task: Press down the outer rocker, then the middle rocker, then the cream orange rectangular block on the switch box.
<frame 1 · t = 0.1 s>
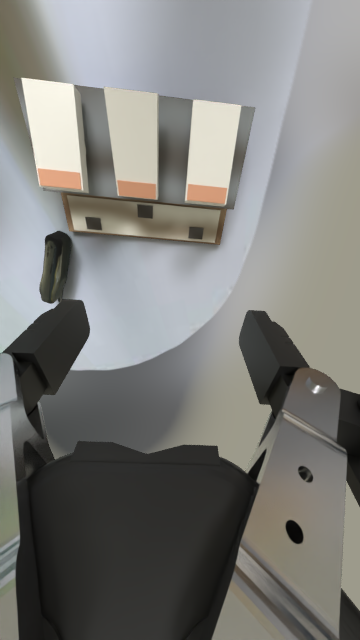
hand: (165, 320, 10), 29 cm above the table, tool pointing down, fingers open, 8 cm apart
mobile phone: (62, 268, 39), on the table
rocker 2: (136, 150, 23), point 7 cm above the table, hinge at 12.0°
rocker 1: (60, 143, 22), point 7 cm above the table, hinge at -12.0°
switch box: (146, 181, 31), on the table
cream orange rectangular block 3: (209, 160, 23), point 7 cm above the table, hinge at -12.0°
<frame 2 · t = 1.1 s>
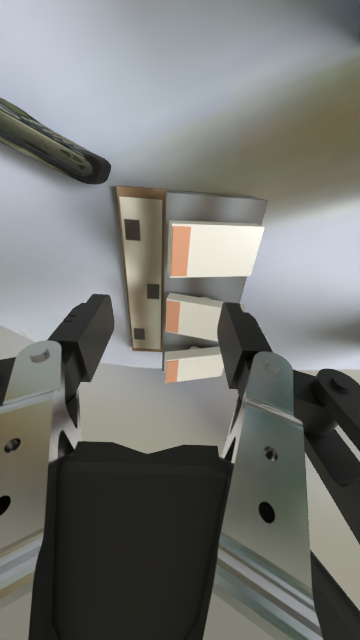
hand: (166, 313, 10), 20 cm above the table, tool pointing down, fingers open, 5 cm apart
mobile phone: (42, 138, 21), on the table
rocker 2: (202, 317, 25), point 7 cm above the table, hinge at 12.0°
rocker 1: (212, 249, 20), point 7 cm above the table, hinge at -12.0°
switch box: (178, 289, 31), on the table
cream orange rectangular block 3: (194, 363, 30), point 7 cm above the table, hinge at -12.0°
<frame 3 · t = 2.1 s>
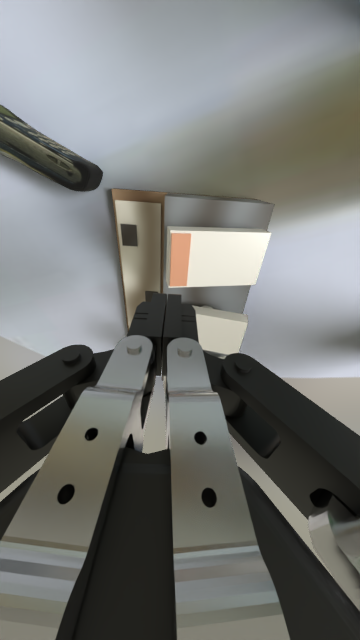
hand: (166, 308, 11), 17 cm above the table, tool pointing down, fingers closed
mobile phone: (30, 139, 20), on the table
rocker 2: (203, 327, 24), point 7 cm above the table, hinge at 12.0°
rocker 1: (214, 257, 19), point 7 cm above the table, hinge at -12.0°
switch box: (178, 296, 30), on the table
cream orange rectangular block 3: (194, 373, 29), point 7 cm above the table, hinge at -12.0°
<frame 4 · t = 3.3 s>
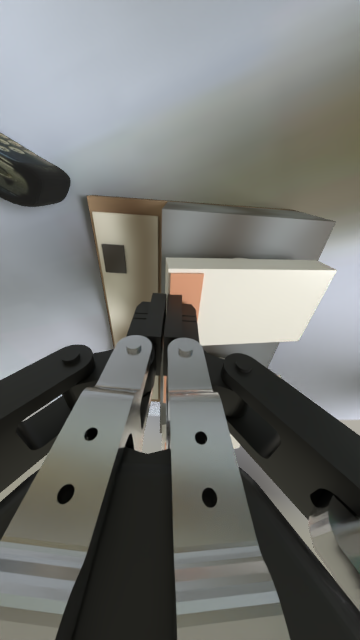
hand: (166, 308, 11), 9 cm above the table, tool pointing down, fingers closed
rocker 2: (216, 386, 17), point 7 cm above the table, hinge at 12.0°
rocker 1: (238, 301, 12), point 7 cm above the table, hinge at -8.8°, touching gripper
switch box: (182, 330, 23), on the table
cream orange rectangular block 3: (202, 434, 22), point 7 cm above the table, hinge at -12.0°
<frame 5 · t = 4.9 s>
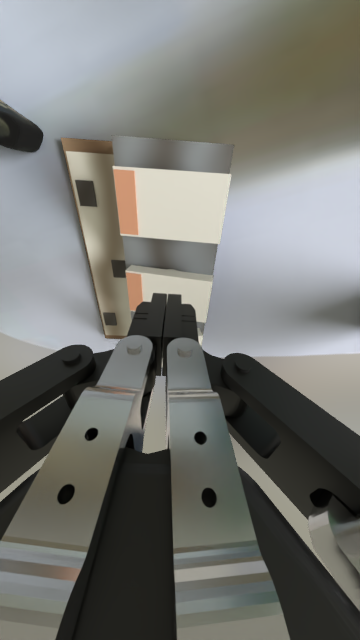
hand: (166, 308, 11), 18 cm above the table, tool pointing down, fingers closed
rocker 2: (169, 292, 22), point 7 cm above the table, hinge at 12.0°
rocker 1: (172, 206, 17), point 7 cm above the table, hinge at 7.0°
switch box: (149, 266, 28), on the table
cream orange rectangular block 3: (167, 347, 27), point 7 cm above the table, hinge at -12.0°
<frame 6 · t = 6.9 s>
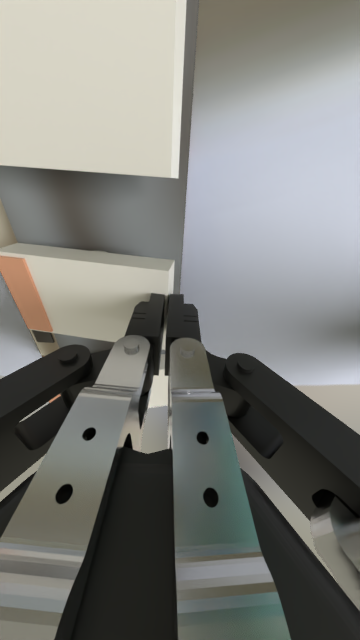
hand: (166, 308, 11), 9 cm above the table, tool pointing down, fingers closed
rocker 2: (97, 295, 12), point 7 cm above the table, hinge at 8.3°, touching gripper
rocker 1: (54, 81, 7), point 7 cm above the table, hinge at 9.1°
switch box: (91, 254, 18), on the table
cream orange rectangular block 3: (114, 384, 17), point 7 cm above the table, hinge at -12.0°
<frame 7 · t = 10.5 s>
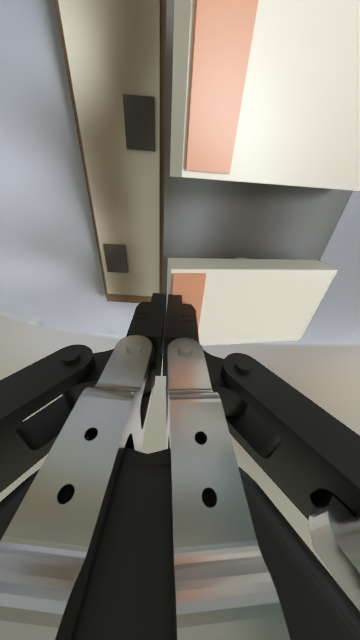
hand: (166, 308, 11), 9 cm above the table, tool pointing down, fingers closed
rocker 2: (293, 102, 7), point 7 cm above the table, hinge at -18.1°
switch box: (201, 133, 13), on the table
cream orange rectangular block 3: (239, 301, 12), point 7 cm above the table, hinge at -9.5°, touching gripper
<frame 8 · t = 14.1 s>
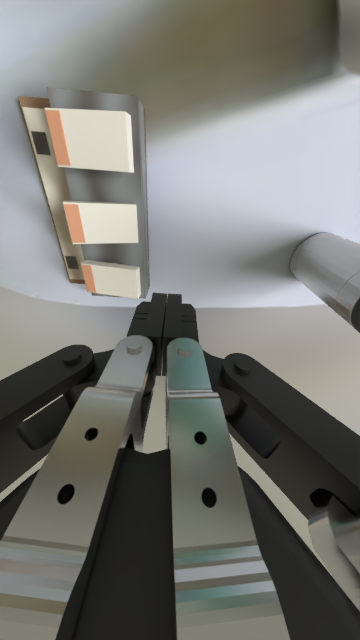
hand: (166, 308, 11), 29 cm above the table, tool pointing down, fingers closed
rocker 2: (104, 222, 28), point 7 cm above the table, hinge at -18.3°
rocker 1: (94, 143, 23), point 7 cm above the table, hinge at 9.2°
switch box: (100, 213, 34), on the table
cream orange rectangular block 3: (113, 278, 33), point 7 cm above the table, hinge at 9.8°
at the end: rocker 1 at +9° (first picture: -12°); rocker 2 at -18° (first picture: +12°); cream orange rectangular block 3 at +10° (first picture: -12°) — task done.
